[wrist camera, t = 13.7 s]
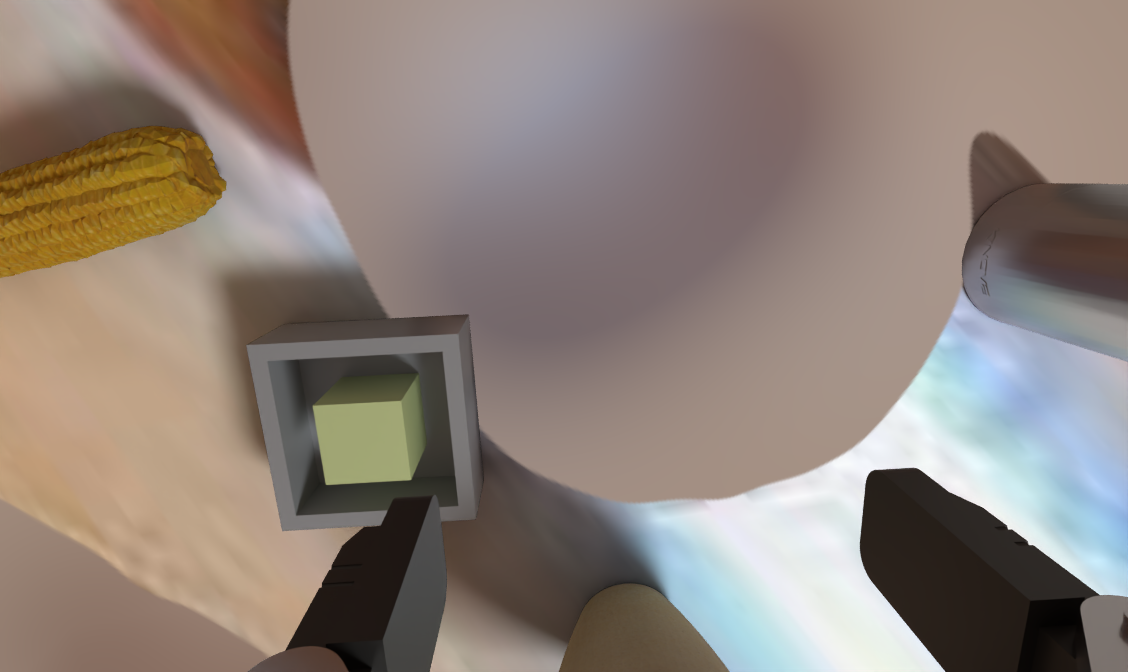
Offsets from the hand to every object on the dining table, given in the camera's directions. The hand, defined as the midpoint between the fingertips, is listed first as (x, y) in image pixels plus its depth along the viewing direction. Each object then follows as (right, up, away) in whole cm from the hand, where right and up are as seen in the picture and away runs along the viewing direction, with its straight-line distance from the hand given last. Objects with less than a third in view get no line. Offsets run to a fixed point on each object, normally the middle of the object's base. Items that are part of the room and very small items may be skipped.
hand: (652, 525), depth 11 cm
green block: (-13, -1, +28) cm, 31 cm away
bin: (-14, -1, +29) cm, 32 cm away
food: (-32, +11, +25) cm, 42 cm away
